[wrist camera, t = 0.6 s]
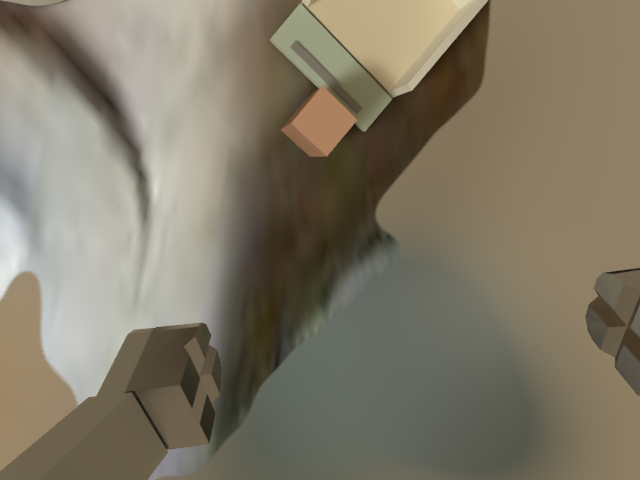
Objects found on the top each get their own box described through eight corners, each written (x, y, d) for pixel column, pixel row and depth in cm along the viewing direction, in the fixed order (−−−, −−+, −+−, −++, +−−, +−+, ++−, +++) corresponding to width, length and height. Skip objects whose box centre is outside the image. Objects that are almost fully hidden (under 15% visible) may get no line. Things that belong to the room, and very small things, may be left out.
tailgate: (299, 5, 43) (270, 40, 43) (300, 2, 41) (270, 37, 42) (389, 100, 46) (362, 131, 47) (393, 98, 45) (365, 131, 46)
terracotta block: (280, 129, 45) (290, 123, 37) (306, 99, 45) (322, 85, 37) (309, 156, 47) (326, 156, 38) (334, 126, 47) (357, 119, 38)
